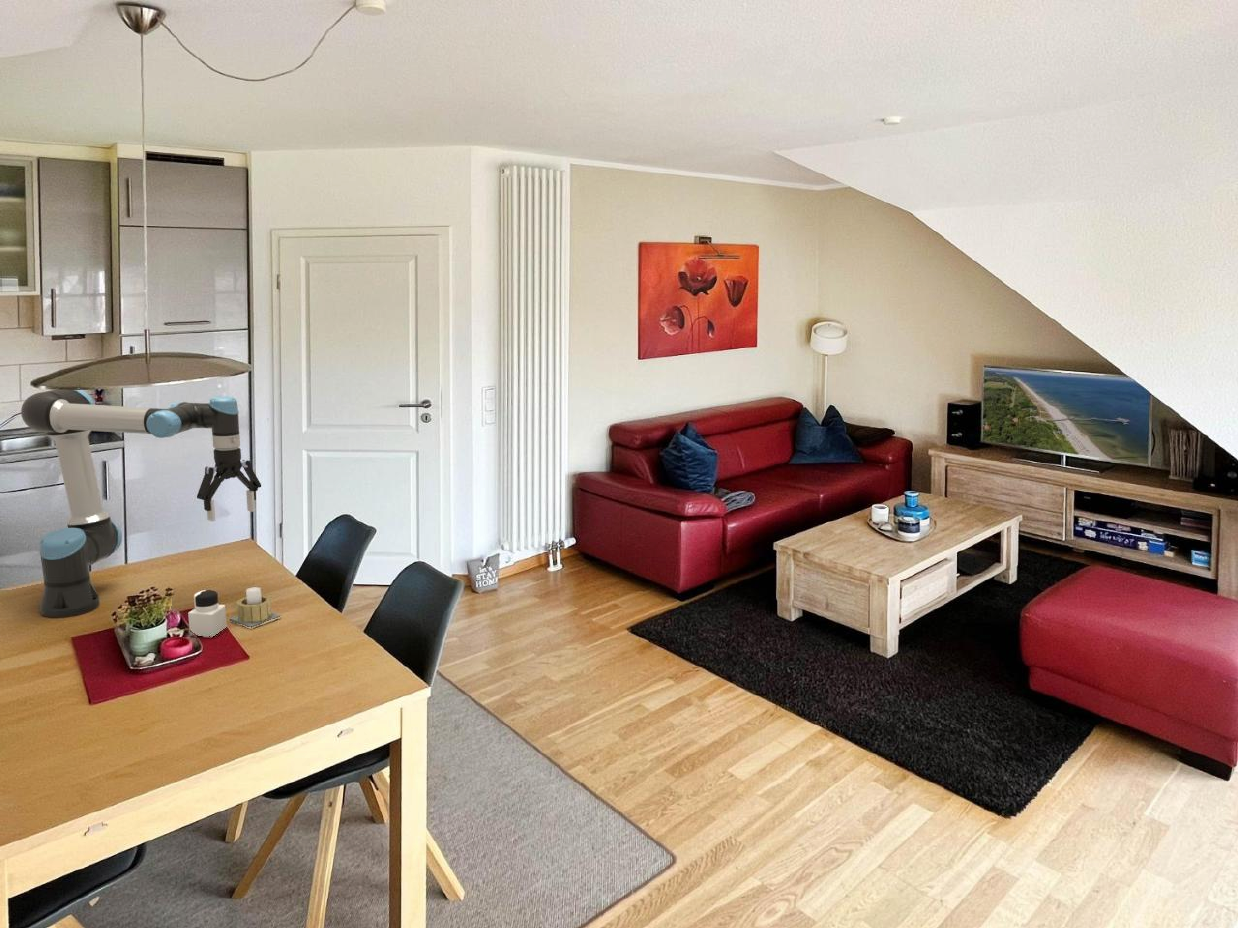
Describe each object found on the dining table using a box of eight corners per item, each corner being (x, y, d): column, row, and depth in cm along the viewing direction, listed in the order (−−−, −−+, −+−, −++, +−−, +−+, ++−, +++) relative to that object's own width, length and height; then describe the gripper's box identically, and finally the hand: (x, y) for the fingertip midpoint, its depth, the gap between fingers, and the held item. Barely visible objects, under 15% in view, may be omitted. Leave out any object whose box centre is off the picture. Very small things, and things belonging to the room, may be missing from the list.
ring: (231, 618, 257) (230, 602, 256) (258, 608, 264) (257, 593, 263) (251, 625, 252) (249, 608, 251) (277, 615, 259) (276, 599, 258)
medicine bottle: (227, 628, 252) (224, 588, 250) (213, 637, 245) (210, 597, 243) (203, 626, 253) (200, 587, 250) (189, 636, 246) (186, 595, 243)
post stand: (229, 621, 257) (227, 590, 255) (259, 611, 265) (257, 581, 263) (251, 629, 251) (249, 598, 249) (280, 618, 260) (279, 588, 258)
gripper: (195, 456, 253) (201, 526, 257) (270, 443, 273) (274, 509, 278) (180, 452, 257) (186, 522, 261) (255, 440, 277) (259, 505, 282)
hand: (231, 515), depth 269 cm, fingers open, 13 cm apart
